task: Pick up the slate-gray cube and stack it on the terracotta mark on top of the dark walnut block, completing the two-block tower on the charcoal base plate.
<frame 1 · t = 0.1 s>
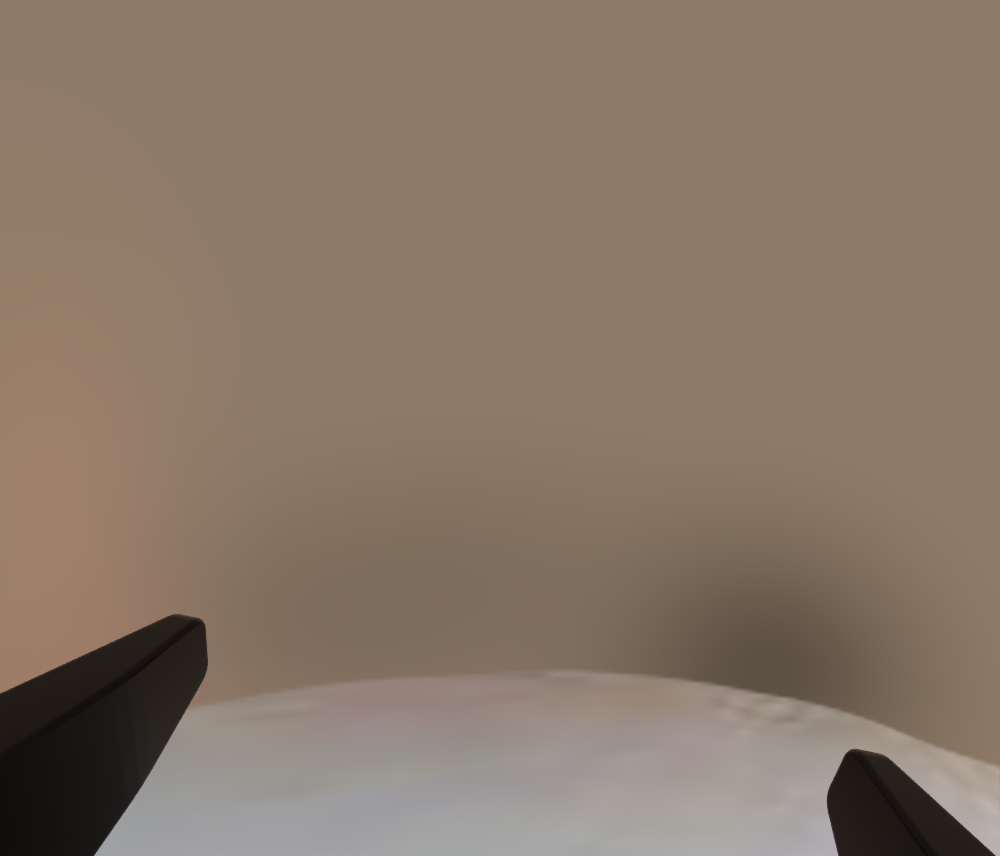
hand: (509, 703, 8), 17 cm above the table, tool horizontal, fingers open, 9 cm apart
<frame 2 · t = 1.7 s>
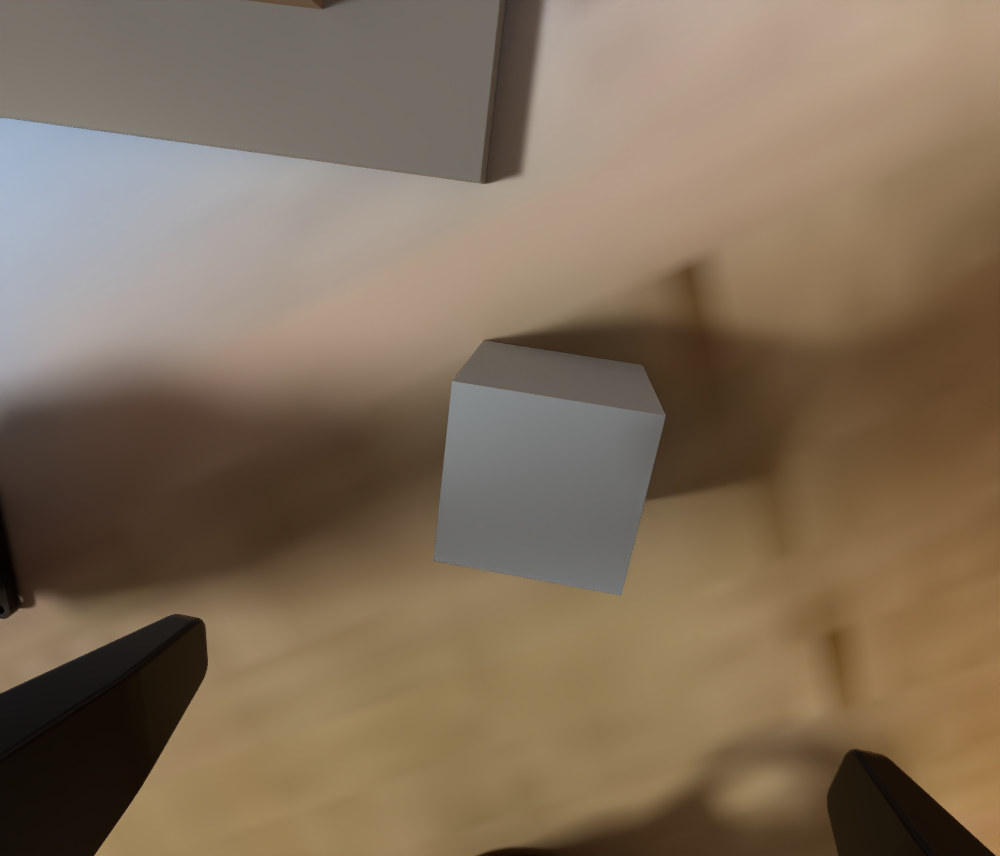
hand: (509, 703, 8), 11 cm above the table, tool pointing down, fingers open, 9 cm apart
slate-gray cube: (549, 425, 19), on the table
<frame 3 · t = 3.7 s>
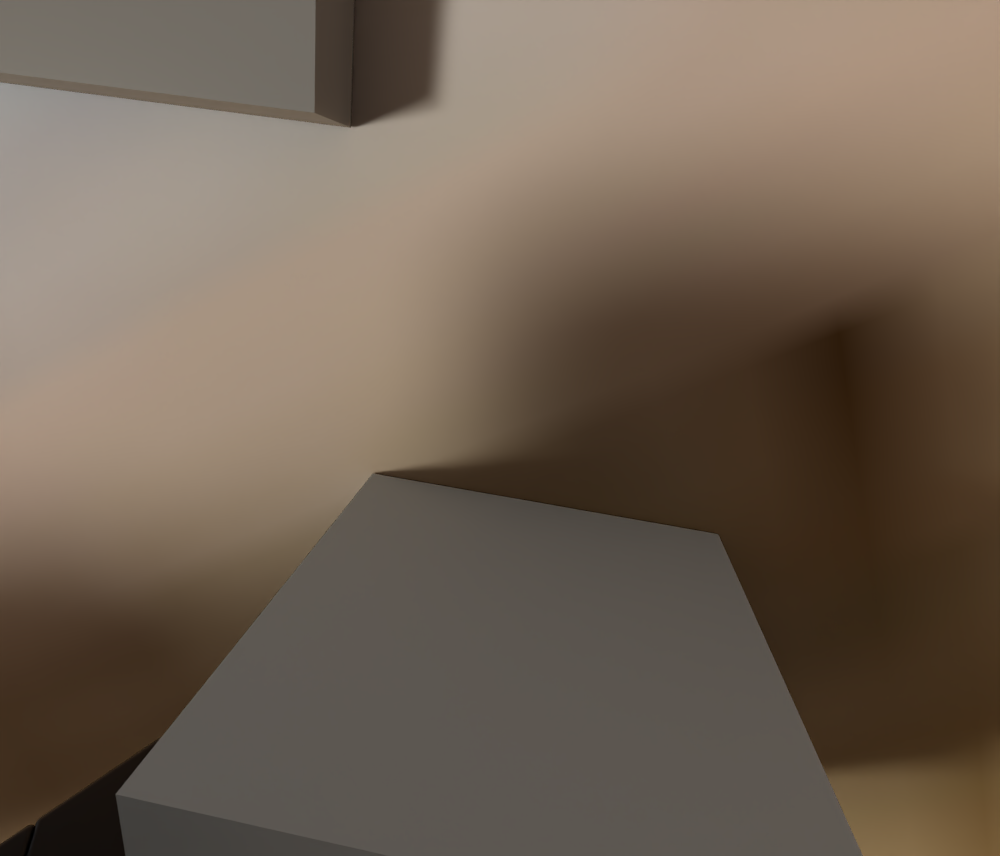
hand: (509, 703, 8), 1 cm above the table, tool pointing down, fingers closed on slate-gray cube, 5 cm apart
slate-gray cube: (517, 641, 9), on the table, touching gripper
when the fingers open (9 cm above the table, at t = 7.9 s): slate-gray cube drops 1 cm, resting on tower base.
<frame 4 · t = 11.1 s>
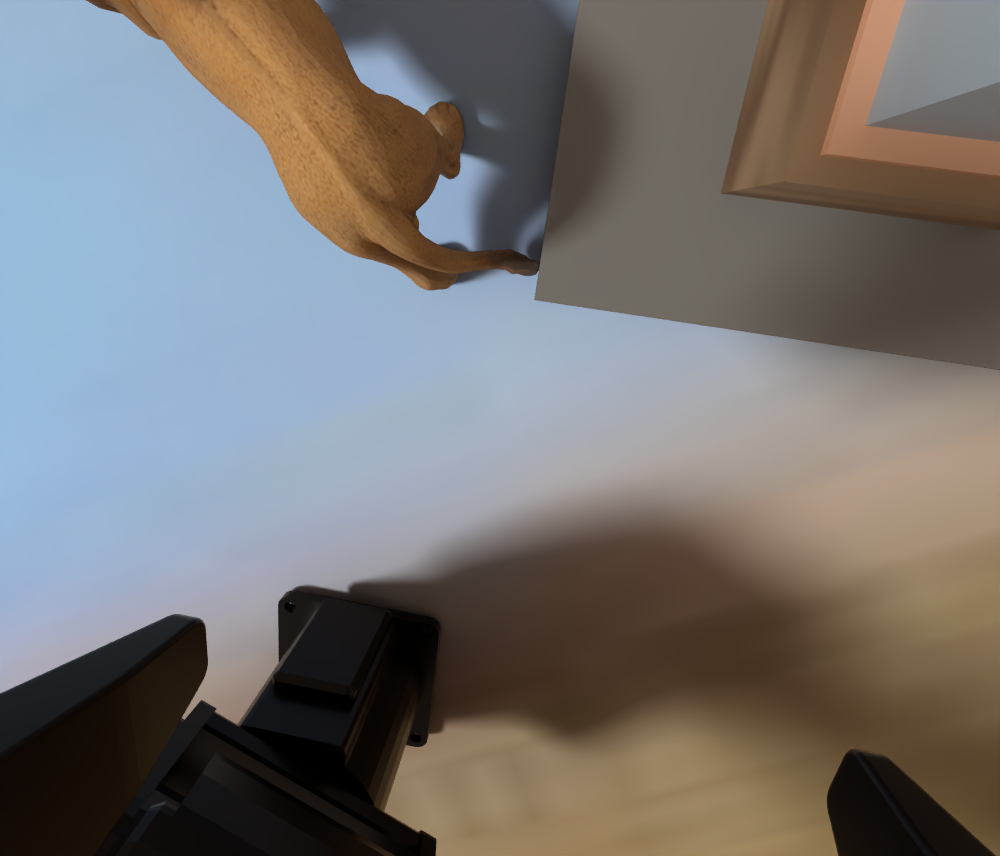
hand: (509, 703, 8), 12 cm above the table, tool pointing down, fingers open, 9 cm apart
lion figurine: (329, 103, 17), on the table
tower base: (884, 67, 15), on the table
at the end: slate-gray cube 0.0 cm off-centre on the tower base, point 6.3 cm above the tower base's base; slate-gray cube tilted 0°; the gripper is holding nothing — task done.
